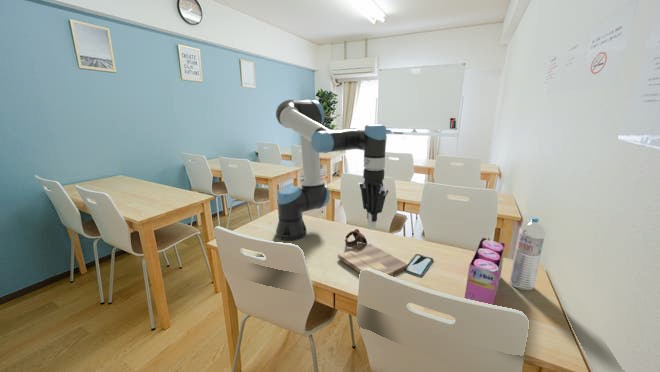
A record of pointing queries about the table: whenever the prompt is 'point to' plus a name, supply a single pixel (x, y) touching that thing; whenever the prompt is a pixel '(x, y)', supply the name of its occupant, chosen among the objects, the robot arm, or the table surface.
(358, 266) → the plank
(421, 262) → the smartphone
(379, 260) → the floor boards
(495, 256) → the gum box
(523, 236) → the water bottle
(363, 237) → the pottery mug
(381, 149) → the robot arm
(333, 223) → the table surface
